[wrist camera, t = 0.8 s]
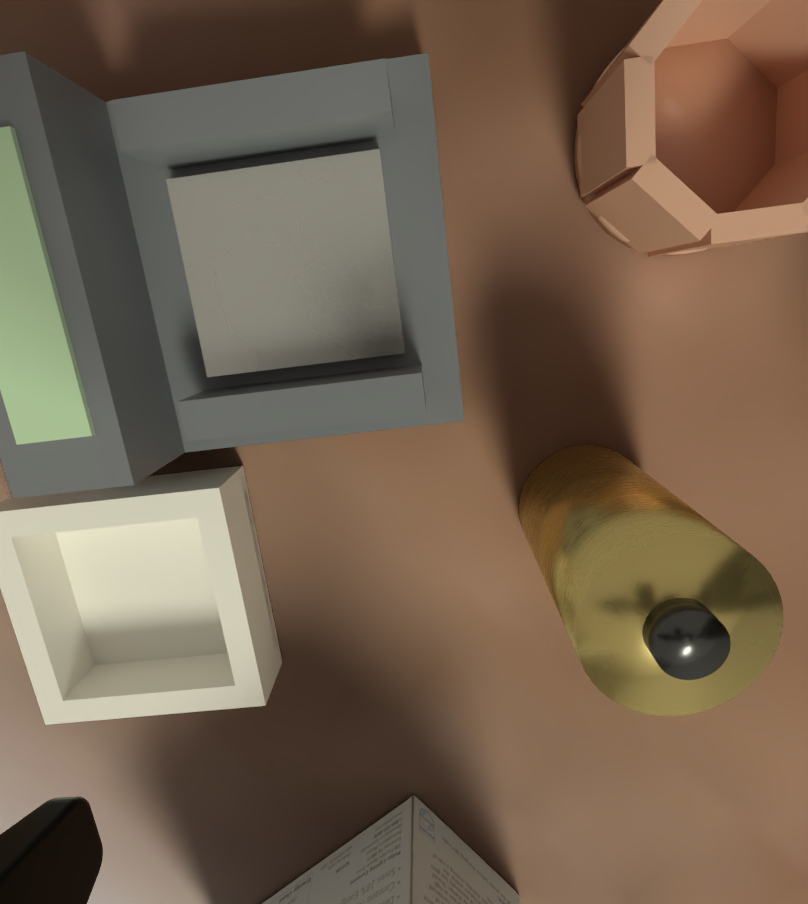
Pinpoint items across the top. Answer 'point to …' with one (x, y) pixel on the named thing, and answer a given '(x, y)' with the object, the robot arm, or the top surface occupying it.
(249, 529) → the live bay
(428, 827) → the light bulb box
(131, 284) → the grey holder
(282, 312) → the plate
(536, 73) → the top surface
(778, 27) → the cup
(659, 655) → the cell
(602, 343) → the top surface
